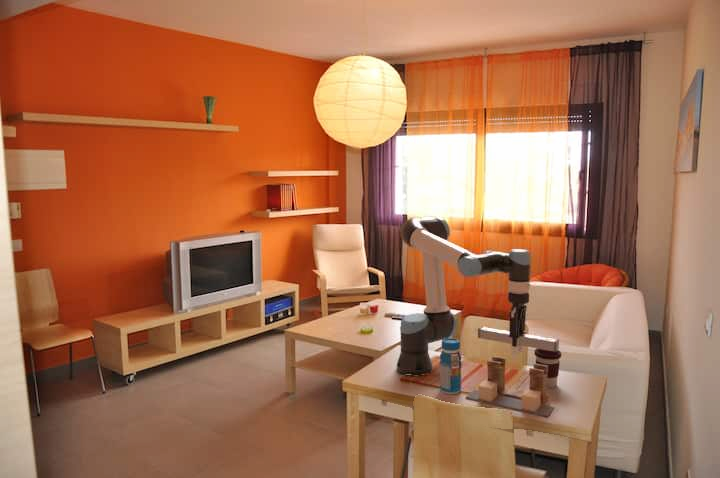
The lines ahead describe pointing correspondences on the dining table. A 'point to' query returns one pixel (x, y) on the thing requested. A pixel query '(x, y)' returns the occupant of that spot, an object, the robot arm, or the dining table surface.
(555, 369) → the coffee cup
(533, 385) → the pair of wooden supports
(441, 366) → the beverage bottle
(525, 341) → the rail
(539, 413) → the twin block support stand
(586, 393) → the dining table surface
